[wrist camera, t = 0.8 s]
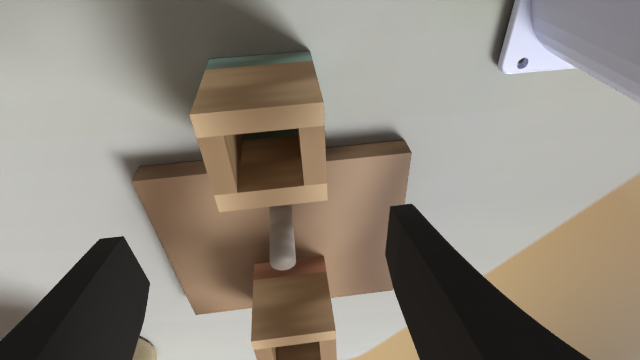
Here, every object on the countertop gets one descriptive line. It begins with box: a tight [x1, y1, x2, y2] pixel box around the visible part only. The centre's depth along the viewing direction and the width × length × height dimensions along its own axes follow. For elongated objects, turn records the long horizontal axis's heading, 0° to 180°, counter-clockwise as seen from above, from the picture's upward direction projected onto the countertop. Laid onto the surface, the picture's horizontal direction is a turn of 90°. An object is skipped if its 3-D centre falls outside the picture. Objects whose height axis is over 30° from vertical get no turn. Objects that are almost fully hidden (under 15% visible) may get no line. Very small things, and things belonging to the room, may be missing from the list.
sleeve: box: [189, 51, 328, 212], centre depth 15 cm, size 4×4×5 cm
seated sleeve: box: [251, 256, 337, 360], centre depth 22 cm, size 4×4×5 cm
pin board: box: [132, 140, 411, 315], centre depth 21 cm, size 14×12×5 cm
